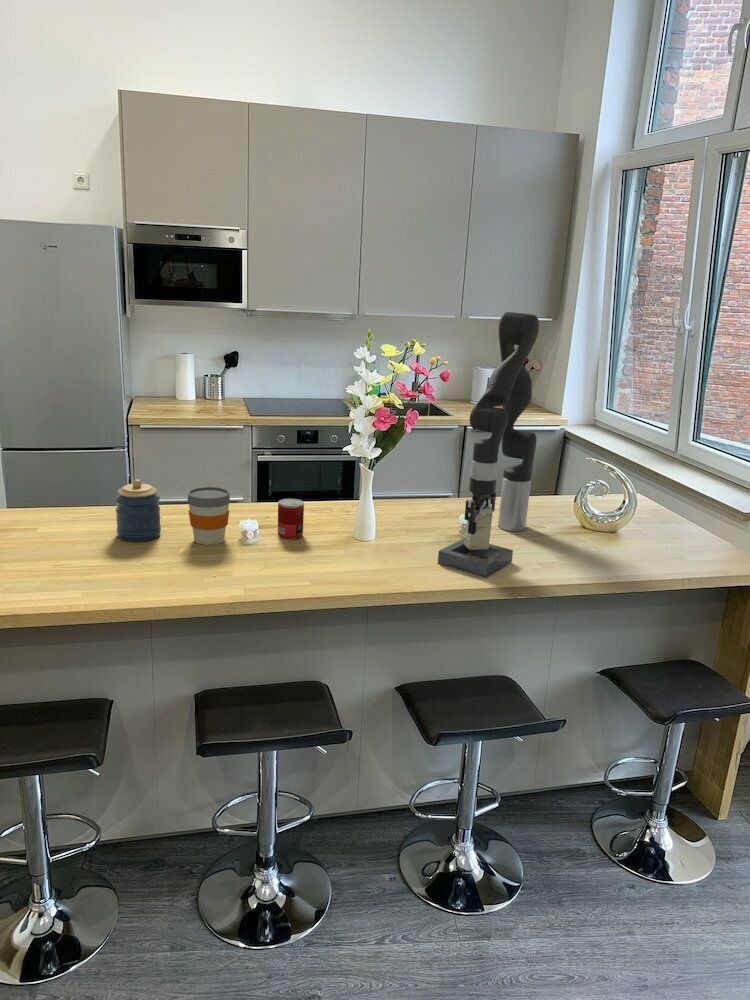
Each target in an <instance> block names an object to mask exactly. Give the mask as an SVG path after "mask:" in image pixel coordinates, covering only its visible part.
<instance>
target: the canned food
mask: <svg viewBox="0 0 750 1000" xmlns="http://www.w3.org/2000/svg"><path fill="white" fill-rule="evenodd" d="M304 510H305V503H304V501H303V500H301V499H298V498H297V499H296V498H283V499H279V500H278V503H277V534H278V536H280V537H279V538H281V539H284V538H285V540H296V539H300V538H302V537H303V534H304V513H305V512H304Z"/></svg>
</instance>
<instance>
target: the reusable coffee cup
mask: <svg viewBox="0 0 750 1000" xmlns="http://www.w3.org/2000/svg"><path fill="white" fill-rule="evenodd" d="M187 494H188V495H187V504H188V508H189V509H188V516H189V517H188V518H189V523H190V526H191V528H192V532H193V533H192V534H193V540H194V542H195V543H196V542H197V543H196V544H199V545H203V544H204V545H206V546H213V545H218V543H219V544H221V543H223V542H224V541H225V537H226V528H227V526H228V523H229V517H230V509H229V506H230V503H231V496H230V491H229V489H226V488H222V487H217V486H201V487H197V488H193V489H191V490H189V491H188V493H187Z"/></svg>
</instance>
